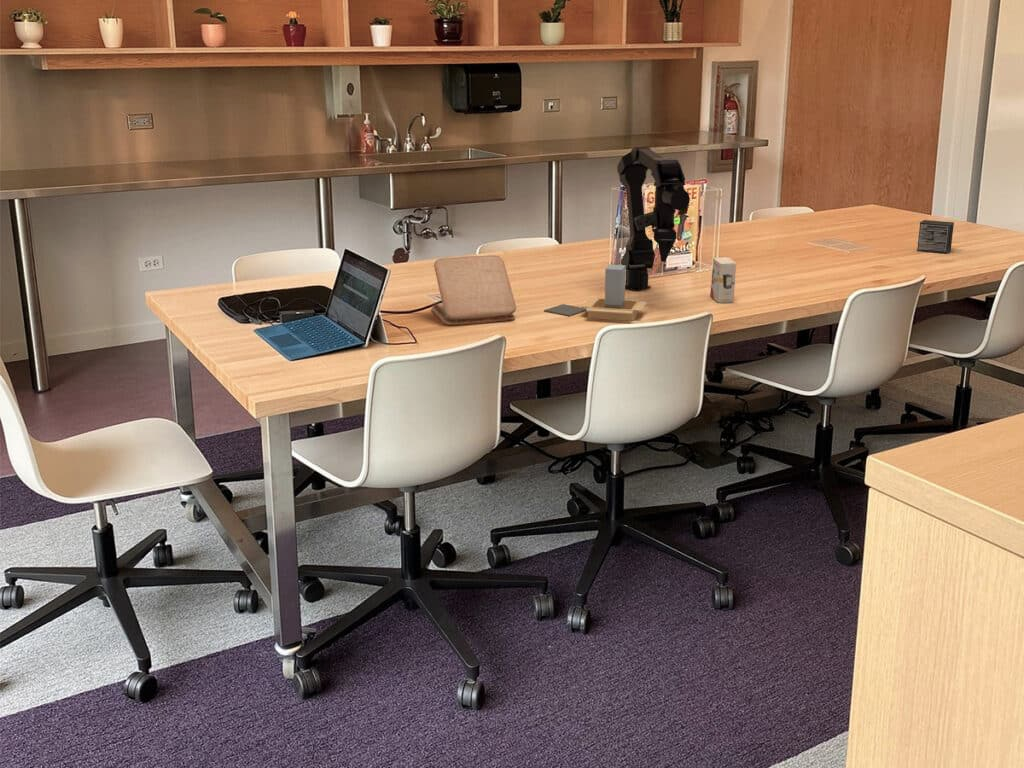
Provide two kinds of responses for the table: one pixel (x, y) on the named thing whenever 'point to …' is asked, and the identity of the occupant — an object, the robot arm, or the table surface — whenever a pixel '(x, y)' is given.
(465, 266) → the case
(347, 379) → the table surface
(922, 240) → the small box
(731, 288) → the ink box
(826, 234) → the table surface
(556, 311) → the mat
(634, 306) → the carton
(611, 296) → the slate box
